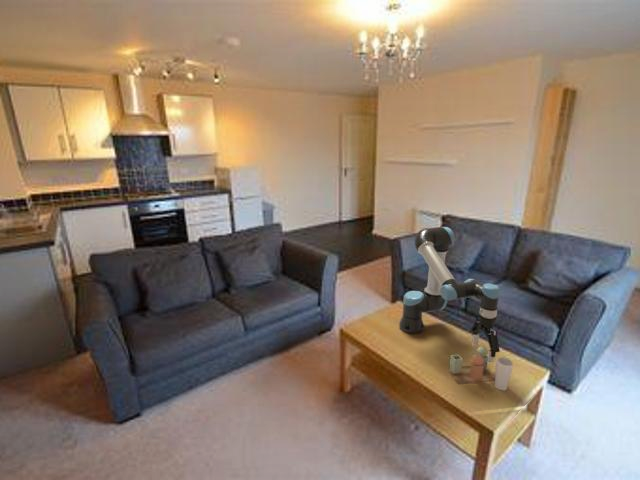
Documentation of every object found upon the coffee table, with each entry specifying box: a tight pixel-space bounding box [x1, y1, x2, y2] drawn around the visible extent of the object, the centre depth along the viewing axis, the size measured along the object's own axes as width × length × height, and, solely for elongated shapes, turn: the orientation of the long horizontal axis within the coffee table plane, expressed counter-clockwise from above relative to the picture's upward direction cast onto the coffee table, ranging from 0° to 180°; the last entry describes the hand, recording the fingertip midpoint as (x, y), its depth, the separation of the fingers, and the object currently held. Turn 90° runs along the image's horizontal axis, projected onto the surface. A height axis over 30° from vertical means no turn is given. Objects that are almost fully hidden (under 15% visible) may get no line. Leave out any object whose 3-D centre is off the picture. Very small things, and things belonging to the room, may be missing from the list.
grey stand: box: [475, 352, 489, 371], centre depth 170 cm, size 4×4×8 cm
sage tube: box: [449, 354, 464, 374], centre depth 169 cm, size 4×4×8 cm
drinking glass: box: [494, 356, 514, 391], centre depth 157 cm, size 7×7×15 cm
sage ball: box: [476, 346, 489, 357], centre depth 169 cm, size 5×5×5 cm
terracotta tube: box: [470, 360, 484, 381], centre depth 164 cm, size 4×4×8 cm
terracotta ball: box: [471, 354, 484, 365], centre depth 162 cm, size 5×5×5 cm
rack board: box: [445, 364, 495, 385], centre depth 168 cm, size 12×20×1 cm, turn 97°
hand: (482, 353), depth 169 cm, fingers open, 13 cm apart
